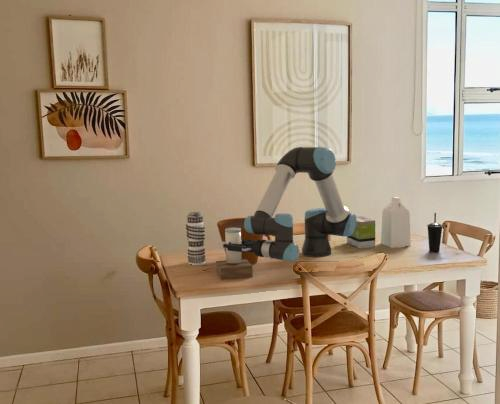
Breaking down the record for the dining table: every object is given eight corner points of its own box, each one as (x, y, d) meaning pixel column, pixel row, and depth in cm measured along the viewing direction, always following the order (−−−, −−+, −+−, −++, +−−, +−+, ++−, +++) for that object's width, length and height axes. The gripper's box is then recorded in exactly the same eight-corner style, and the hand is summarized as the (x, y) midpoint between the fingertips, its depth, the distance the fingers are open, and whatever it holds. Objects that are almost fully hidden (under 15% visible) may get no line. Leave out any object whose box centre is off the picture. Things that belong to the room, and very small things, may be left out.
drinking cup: (445, 252, 284) (446, 213, 281) (433, 254, 281) (434, 214, 278) (435, 249, 291) (436, 211, 288) (423, 250, 288) (424, 212, 285)
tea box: (346, 243, 311) (346, 217, 309) (362, 241, 314) (362, 215, 312) (359, 248, 297) (359, 221, 295) (376, 247, 300) (376, 219, 298)
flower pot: (276, 261, 275) (276, 221, 272) (241, 271, 258) (240, 228, 256) (243, 254, 292) (242, 216, 289) (208, 262, 275) (207, 222, 272)
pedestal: (216, 271, 258) (216, 261, 258) (246, 269, 261) (246, 258, 261) (221, 279, 245) (221, 268, 244) (252, 277, 248) (252, 266, 247)
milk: (410, 246, 300) (411, 198, 296) (391, 247, 297) (391, 199, 293) (399, 241, 311) (400, 195, 308) (380, 243, 309) (381, 196, 305)
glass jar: (224, 260, 255) (223, 228, 253) (240, 259, 256) (239, 227, 254) (227, 264, 248) (226, 231, 246) (243, 262, 249) (242, 230, 247)
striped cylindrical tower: (185, 261, 278) (183, 212, 275) (203, 259, 281) (201, 210, 278) (190, 266, 270) (187, 214, 266) (208, 264, 273) (206, 213, 269)
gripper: (251, 262, 233) (210, 255, 247) (279, 252, 248) (239, 246, 262) (251, 244, 232) (209, 238, 246) (278, 236, 247) (238, 230, 261)
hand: (225, 242), depth 254 cm, fingers closed on glass jar, 7 cm apart
